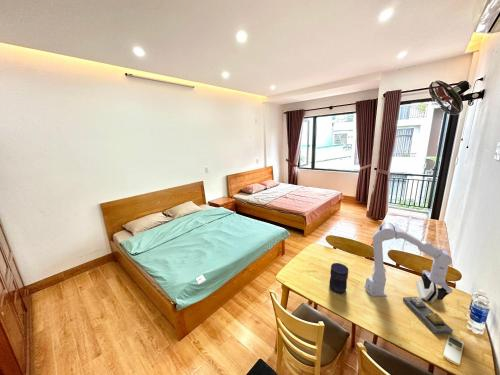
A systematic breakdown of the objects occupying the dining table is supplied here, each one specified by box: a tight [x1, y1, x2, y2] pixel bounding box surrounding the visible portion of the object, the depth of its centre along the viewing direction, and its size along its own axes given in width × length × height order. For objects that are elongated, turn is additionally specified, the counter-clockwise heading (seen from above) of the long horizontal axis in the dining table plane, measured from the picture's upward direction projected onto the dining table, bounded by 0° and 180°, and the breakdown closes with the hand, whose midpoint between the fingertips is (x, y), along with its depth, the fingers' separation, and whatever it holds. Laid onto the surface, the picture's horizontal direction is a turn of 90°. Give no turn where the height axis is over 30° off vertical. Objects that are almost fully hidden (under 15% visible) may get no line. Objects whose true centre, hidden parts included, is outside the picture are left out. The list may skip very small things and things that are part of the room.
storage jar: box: [328, 262, 349, 295], centre depth 122 cm, size 10×10×15 cm
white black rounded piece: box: [415, 278, 439, 304], centre depth 117 cm, size 17×5×10 cm, turn 149°
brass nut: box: [427, 312, 445, 326], centre depth 98 cm, size 4×4×6 cm
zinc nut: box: [411, 296, 426, 309], centre depth 108 cm, size 4×4×6 cm
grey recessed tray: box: [402, 296, 454, 336], centre depth 103 cm, size 8×20×2 cm, turn 2°
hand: (432, 293), depth 105 cm, fingers open, 7 cm apart
